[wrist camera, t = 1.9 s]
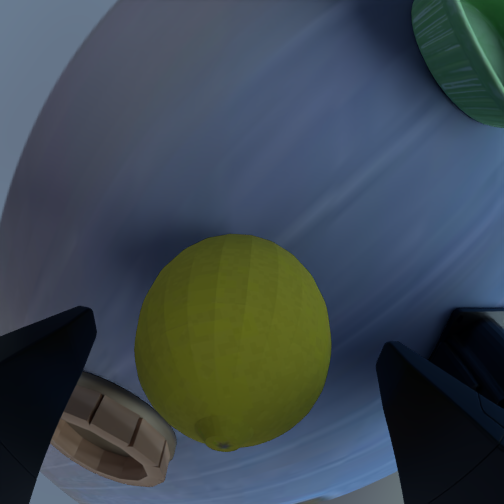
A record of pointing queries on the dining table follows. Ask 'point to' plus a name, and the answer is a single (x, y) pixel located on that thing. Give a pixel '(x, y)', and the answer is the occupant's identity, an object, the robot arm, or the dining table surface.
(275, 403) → the lemon
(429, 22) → the ramekin
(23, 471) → the robot arm
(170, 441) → the wooden bowl
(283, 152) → the dining table surface
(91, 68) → the dining table surface
